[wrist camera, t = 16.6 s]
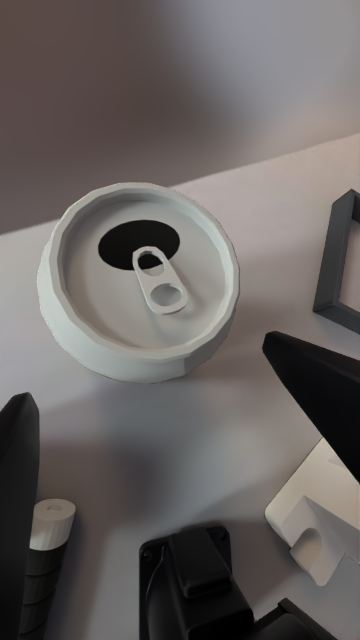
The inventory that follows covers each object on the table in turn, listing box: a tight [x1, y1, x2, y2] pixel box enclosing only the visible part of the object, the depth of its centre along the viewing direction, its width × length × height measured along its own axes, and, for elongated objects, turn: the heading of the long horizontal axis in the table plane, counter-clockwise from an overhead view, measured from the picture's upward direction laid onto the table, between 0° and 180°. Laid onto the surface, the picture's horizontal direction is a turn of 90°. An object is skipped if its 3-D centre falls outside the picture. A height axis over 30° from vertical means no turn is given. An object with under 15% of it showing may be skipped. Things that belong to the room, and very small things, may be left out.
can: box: [36, 183, 240, 384], centre depth 13 cm, size 8×8×12 cm
